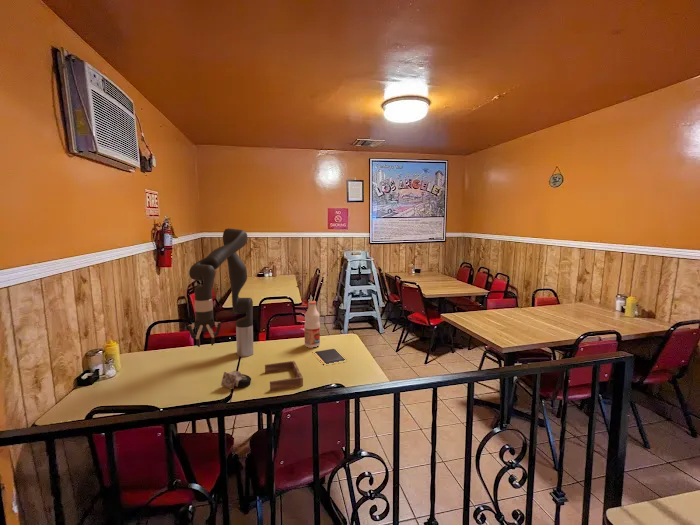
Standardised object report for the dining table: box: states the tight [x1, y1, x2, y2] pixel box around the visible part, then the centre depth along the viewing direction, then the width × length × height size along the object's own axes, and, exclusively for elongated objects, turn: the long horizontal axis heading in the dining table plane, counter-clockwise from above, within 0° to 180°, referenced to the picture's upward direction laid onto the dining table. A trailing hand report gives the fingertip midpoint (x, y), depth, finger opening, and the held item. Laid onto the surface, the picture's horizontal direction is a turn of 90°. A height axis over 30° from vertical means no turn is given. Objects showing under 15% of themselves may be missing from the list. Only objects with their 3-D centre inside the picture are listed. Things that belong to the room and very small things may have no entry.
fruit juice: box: [304, 300, 321, 349], centre depth 211 cm, size 9×9×28 cm
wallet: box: [314, 348, 346, 364], centre depth 196 cm, size 20×2×15 cm
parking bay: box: [264, 360, 304, 392], centre depth 169 cm, size 20×15×4 cm
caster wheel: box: [220, 370, 252, 390], centre depth 162 cm, size 7×11×10 cm
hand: (205, 345), depth 155 cm, fingers open, 5 cm apart
